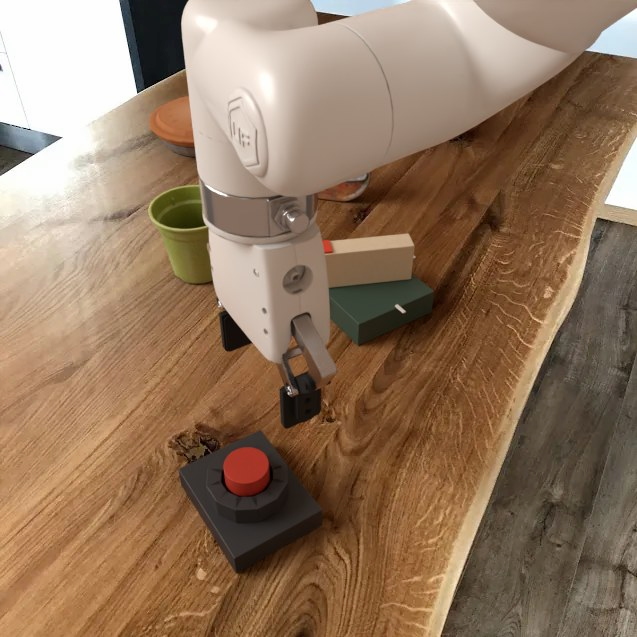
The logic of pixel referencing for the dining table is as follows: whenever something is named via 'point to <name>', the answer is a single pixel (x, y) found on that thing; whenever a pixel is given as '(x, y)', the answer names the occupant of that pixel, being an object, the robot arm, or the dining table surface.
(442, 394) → the dining table surface
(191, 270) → the plant pot
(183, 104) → the pie
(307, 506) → the control block
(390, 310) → the dial base
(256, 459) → the button
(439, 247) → the dining table surface
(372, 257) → the beige rectangular block
